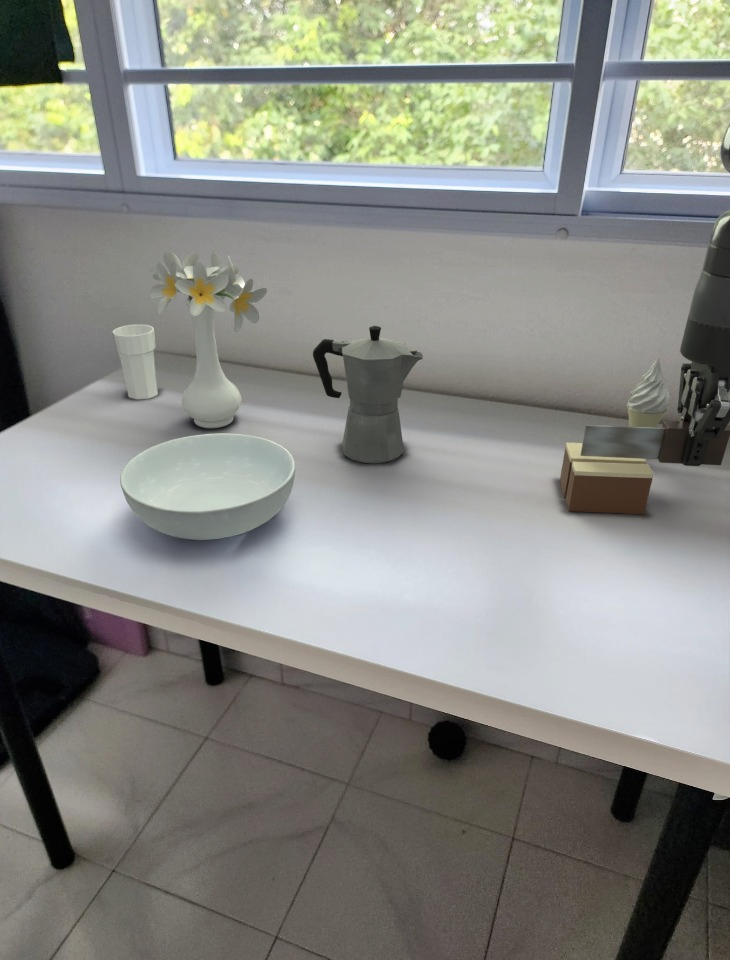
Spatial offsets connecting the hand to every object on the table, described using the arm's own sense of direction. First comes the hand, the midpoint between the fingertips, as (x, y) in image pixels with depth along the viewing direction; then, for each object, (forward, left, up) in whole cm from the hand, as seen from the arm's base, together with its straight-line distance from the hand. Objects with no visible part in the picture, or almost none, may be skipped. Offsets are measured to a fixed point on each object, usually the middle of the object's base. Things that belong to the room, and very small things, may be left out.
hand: (687, 458), depth 90 cm
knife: (+4, 0, 0) cm, 5 cm away
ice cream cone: (+3, -12, -7) cm, 14 cm away
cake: (+9, -3, -6) cm, 11 cm away
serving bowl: (+57, +9, -7) cm, 58 cm away
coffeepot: (+40, -12, -7) cm, 42 cm away
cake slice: (+9, +2, -6) cm, 11 cm away
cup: (+80, -30, -7) cm, 86 cm away
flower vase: (+64, -20, -7) cm, 67 cm away
